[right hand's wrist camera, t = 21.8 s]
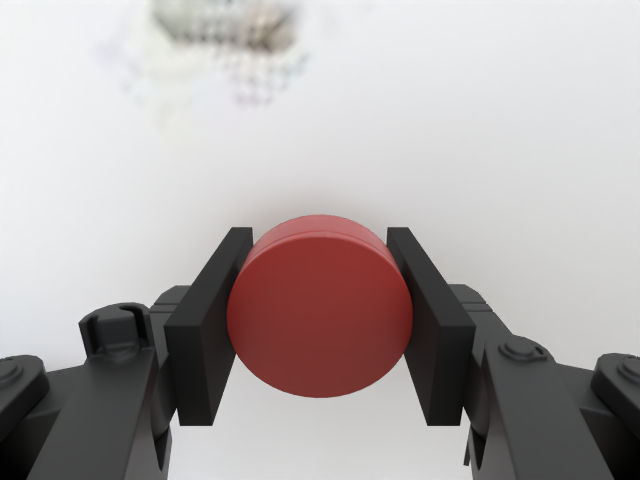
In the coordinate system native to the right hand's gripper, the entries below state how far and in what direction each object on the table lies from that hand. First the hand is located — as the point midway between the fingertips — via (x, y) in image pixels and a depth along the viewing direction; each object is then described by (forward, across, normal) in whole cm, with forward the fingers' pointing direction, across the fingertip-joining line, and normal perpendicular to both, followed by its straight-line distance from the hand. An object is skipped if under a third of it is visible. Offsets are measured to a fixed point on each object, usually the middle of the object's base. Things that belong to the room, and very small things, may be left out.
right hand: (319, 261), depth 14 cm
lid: (-4, 0, 0) cm, 4 cm away
